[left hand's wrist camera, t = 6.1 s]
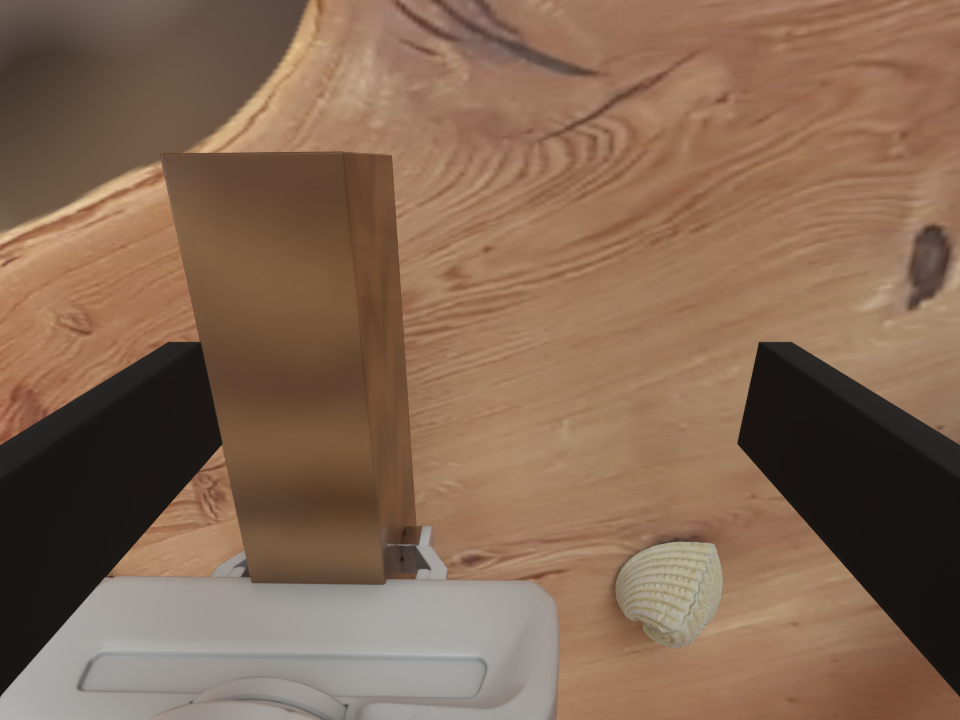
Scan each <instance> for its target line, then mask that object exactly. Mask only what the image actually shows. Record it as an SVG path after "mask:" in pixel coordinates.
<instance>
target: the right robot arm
mask: <svg viewBox="0 0 960 720" xmlns="http://www.w3.org/2000/svg"><path fill="white" fill-rule="evenodd" d="M400 546H401V557H402V558H403V559H402V571H403V573H410V574H417V576H416V579H387V580H386V583H385V585H349V584H273V583H251V578H250V573H249V569H248V564H247V559H246V555H245V550H244V551H242V552H240V553H239V554H237V555H235V556H234V557H232V558H230V559H229V560H227V561H225V562H224V563H222V564H220V565H219V566H218V567H217V568H216V570H215V571H214V572H213V574H212V575H211V577H182V576H117V577H114V578H112V579H109V580H107V581H105V582H103V583H101V584H100V585H98V586H97V587H96V588H95V590H94V591H93V592H92V593H91V594H90V595H89V596H88V597H87V599H86V600H85V601H84V602H83V603H82V604H81V605H80V607H79V608H78V609H77V610H76V611H75V612H74V613H73V615H72V616H71V617H70V618H69V619H68V620H67V621H66V623H65V624H64V625H63V626H62V627H61V628H60V629H59V630H58V632H57V633H56V634H55V635H54V636H53V637H52V638H51V640H50V641H49V642H48V643H47V644H46V645H45V646H44V648H43V649H42V650H41V651H40V652H39V653H38V654H37V656H36V657H35V658H34V659H33V660H32V661H31V662H30V663H29V665H28V666H27V667H26V668H25V669H24V670H23V671H22V673H21V674H20V675H19V676H18V677H17V678H16V679H15V681H14V682H13V683H12V684H11V685H10V686H9V687H8V688H7V690H6V691H5V692H4V693H3V694H2V695H1V697H0V720H556V716H557V701H558V675H559V621H558V610H557V603H556V601H555V599H554V598H553V597H552V596H551V595H550V594H549V593H548V592H547V591H546V590H545V589H544V588H542V587H541V586H540V585H539V584H537V583H536V582H533V581H527V580H513V581H510V580H448V569H447V567H446V566H445V564H444V563H443V562H442V560H441V559H440V558H439V556H438V555H437V553H436V552H435V551H434V549H433V527H432V526H405V529H404V535H403V537H402V541H401V545H400Z"/></svg>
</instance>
